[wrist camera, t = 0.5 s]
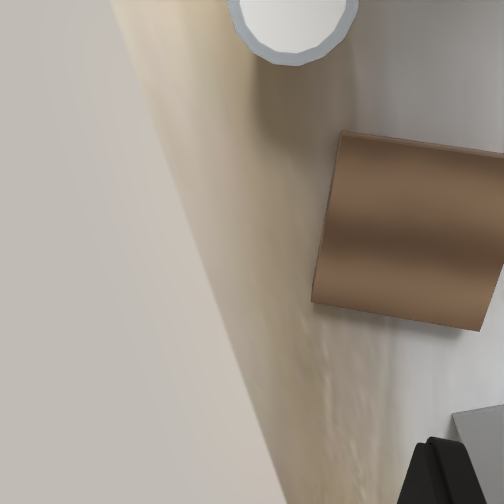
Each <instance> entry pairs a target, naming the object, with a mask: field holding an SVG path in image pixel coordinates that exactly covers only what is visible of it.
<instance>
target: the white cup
mask: <svg viewBox="0 0 504 504" xmlns="http://www.w3.org/2000/svg"><path fill="white" fill-rule="evenodd" d="M358 5H359V0H228V8H229V11H230V14H231V18H232V21H233V24H234V28H235V31H236V33H237V34H238V35H239V36H240V38H241V39H242V40H243V42H244V43H245V44H246V45H247V47H248V48H249V49H250V50H251V52H253V53H254V54H256V55H258V56H260V57H262V58H263V59H265V60H267V61H269V62H271V63H272V64H278V65H290V66H300V65H303V64H306V63H309V62H312V61H314V60H317V59H320V58H323V57H324V56H325V55H326V54H327V53H328V52H330V51H331V50H332V49H333V48H334V47H335V46H336V45H338V44H339V43H340V42H341V41H342V40H343V39H344V37H345V35H346V34H347V32H348V30H349V28H350V26H351V24H352V22H353V20H354V18H355V17H356V15H357V12H358Z"/></svg>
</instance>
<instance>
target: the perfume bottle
mask: <svg viewBox="0 0 504 504" xmlns="http://www.w3.org/2000/svg"><path fill="white" fill-rule="evenodd" d="M452 416H453V419H454V423H455V426H456V430H457V434H458V437H459V441H460V442H461V443H463V444H464V445H465V447H466V449H467V452H468V454H469V457H470V460H471V462H472V465H473V468H474V470H475V473H476V476H477V478H478V481H479V484H480V486H481V489H482V492H483V494H484V497H485V500H486V502H487V504H504V405H498V406H493V407H487V408H481V409H476V410H470V411H464V412H459V413H453V414H452Z"/></svg>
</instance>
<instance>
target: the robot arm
mask: <svg viewBox="0 0 504 504" xmlns="http://www.w3.org/2000/svg"><path fill="white" fill-rule="evenodd" d="M397 504H487V502H486V500H485V497H484V494H483V492H482V489H481V486H480V484H479V481H478V478H477V476H476V473H475V470H474V468H473V465H472V462H471V460H470V457H469V454H468V452H467V449H466V447H465V445H464V444H463V443H461V442H456V441H451V440H446V439H441V438H436V437H429V438H428V439H427V442H426V444H425V443H417V444H416V447H415V450H414V453H413V456H412V459H411V462H410V465H409V468H408V471H407V474H406V477H405V480H404V483H403V486H402V489H401V492H400V495H399V499H398V502H397Z"/></svg>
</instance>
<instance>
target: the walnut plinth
mask: <svg viewBox="0 0 504 504" xmlns="http://www.w3.org/2000/svg"><path fill="white" fill-rule="evenodd" d="M503 264H504V154H503V153H496V152H489V151H482V150H475V149H467V148H460V147H453V146H446V145H439V144H432V143H424V142H417V141H410V140H403V139H396V138H389V137H381V136H374V135H367V134H360V133H353V132H346V131H341V134H340V139H339V145H338V150H337V155H336V161H335V166H334V171H333V177H332V182H331V187H330V193H329V198H328V203H327V209H326V214H325V219H324V225H323V230H322V235H321V241H320V246H319V252H318V257H317V262H316V268H315V273H314V278H313V284H312V296H311V302H314V303H320V304H326V305H331V306H337V307H342V308H348V309H354V310H359V311H365V312H371V313H376V314H382V315H388V316H393V317H399V318H404V319H410V320H416V321H421V322H427V323H433V324H438V325H444V326H450V327H455V328H461V329H466V330H472V331H478V332H480V329H481V326H482V323H483V321H484V318H485V315H486V312H487V309H488V306H489V304H490V301H491V298H492V295H493V292H494V289H495V287H496V284H497V281H498V278H499V275H500V272H501V269H502V267H503Z"/></svg>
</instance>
